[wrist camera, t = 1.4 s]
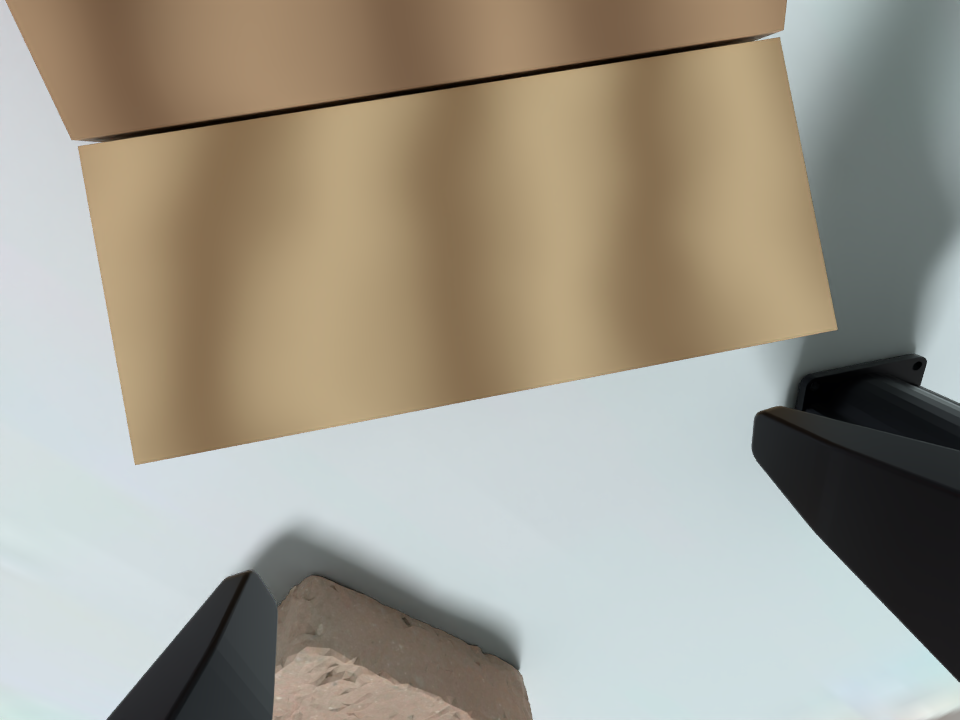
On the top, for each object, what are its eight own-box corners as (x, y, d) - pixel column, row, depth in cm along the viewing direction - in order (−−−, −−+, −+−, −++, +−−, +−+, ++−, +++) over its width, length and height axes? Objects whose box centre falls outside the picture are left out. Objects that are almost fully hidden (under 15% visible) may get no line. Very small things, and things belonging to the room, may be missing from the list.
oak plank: (749, 68, 16) (779, 37, 14) (801, 333, 16) (837, 329, 14) (116, 168, 15) (77, 146, 13) (167, 455, 15) (135, 465, 13)
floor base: (761, -336, 13) (835, -445, 10) (713, 322, 21) (749, 341, 19) (-47, -248, 12) (-160, -348, 9) (238, 411, 20) (215, 444, 18)
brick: (229, 649, 26) (192, 745, 22) (313, 561, 24) (291, 647, 20) (446, 729, 32) (451, 817, 28) (527, 663, 30) (545, 746, 26)
